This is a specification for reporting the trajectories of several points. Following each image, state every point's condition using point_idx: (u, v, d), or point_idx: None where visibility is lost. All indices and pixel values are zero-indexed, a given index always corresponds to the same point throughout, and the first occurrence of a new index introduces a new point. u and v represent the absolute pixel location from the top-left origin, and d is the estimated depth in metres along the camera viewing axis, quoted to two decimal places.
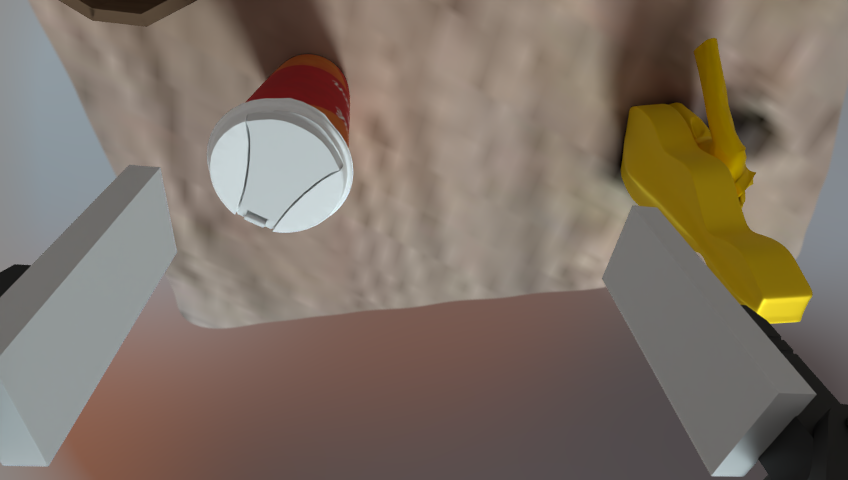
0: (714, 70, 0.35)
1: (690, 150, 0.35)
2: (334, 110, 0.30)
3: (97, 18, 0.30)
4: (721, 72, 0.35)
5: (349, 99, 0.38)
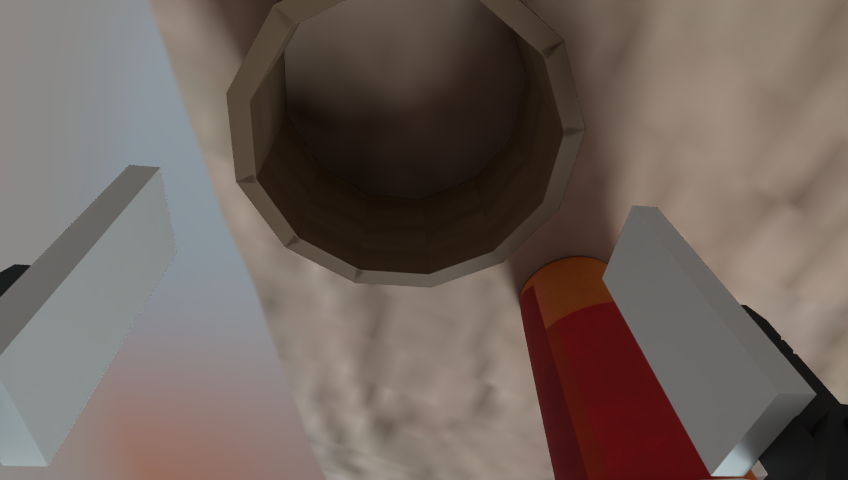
0: None
1: None
2: None
3: (362, 280, 0.20)
4: None
5: None
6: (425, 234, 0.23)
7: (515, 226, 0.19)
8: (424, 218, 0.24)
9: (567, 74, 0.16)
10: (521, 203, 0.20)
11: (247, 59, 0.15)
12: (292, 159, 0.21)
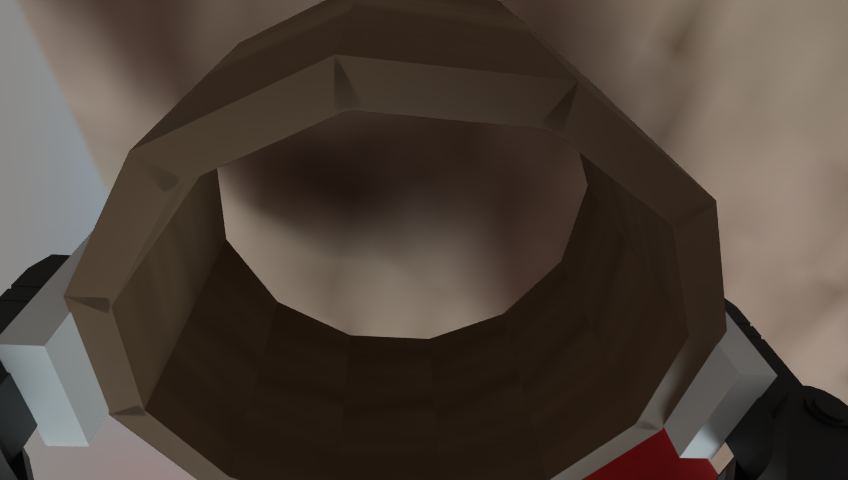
0: None
1: None
2: None
3: None
4: None
5: None
6: (435, 414, 0.15)
7: (585, 447, 0.12)
8: (432, 379, 0.16)
9: (711, 253, 0.08)
10: (591, 403, 0.12)
11: (93, 243, 0.08)
12: (230, 318, 0.14)
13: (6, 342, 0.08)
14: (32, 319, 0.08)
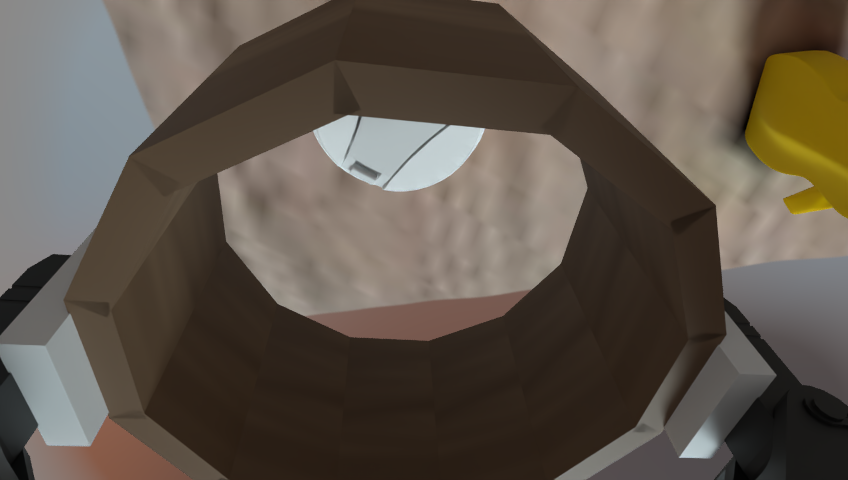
0: None
1: None
2: None
3: None
4: None
5: None
6: (435, 416, 0.15)
7: (584, 451, 0.12)
8: (432, 382, 0.16)
9: (711, 257, 0.08)
10: (591, 406, 0.12)
11: (93, 247, 0.08)
12: (230, 321, 0.14)
13: (7, 342, 0.08)
14: (33, 319, 0.08)
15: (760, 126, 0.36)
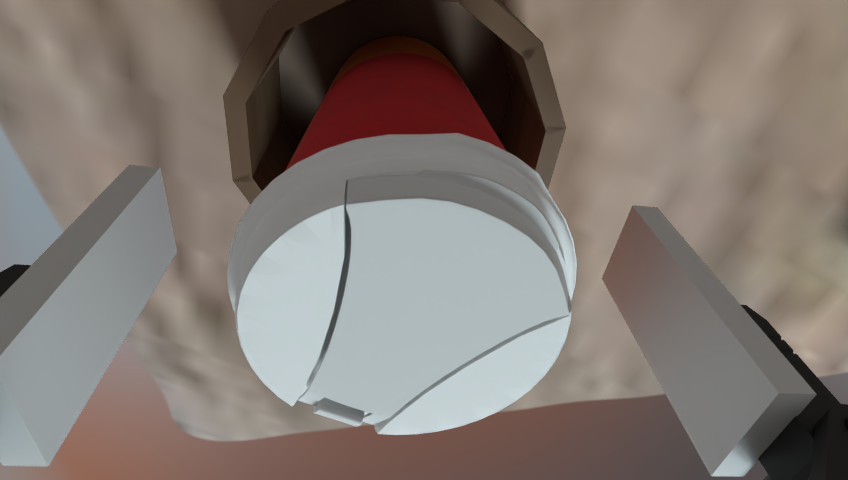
0: None
1: None
2: (505, 150, 0.14)
3: None
4: None
5: None
6: None
7: None
8: None
9: (547, 75, 0.17)
10: None
11: (243, 63, 0.16)
12: (287, 160, 0.22)
13: None
14: None
15: None
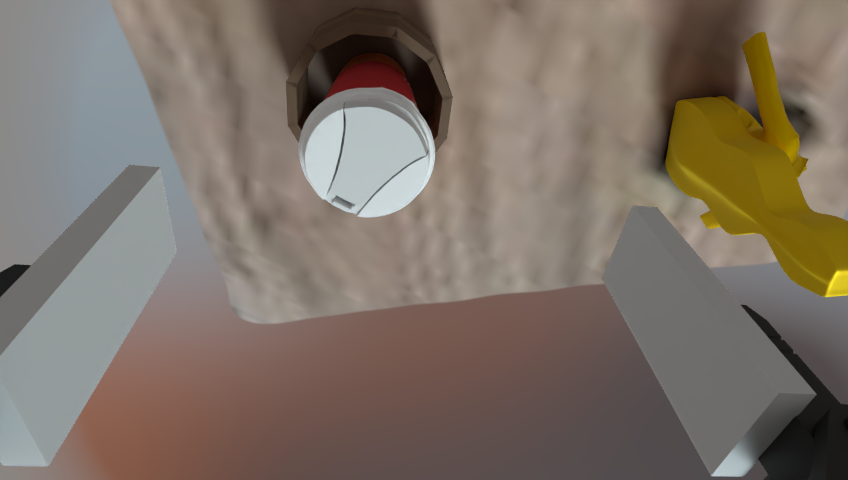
0: (765, 62, 0.37)
1: (744, 138, 0.36)
2: (412, 101, 0.32)
3: None
4: (772, 64, 0.36)
5: None
6: None
7: None
8: None
9: (439, 71, 0.35)
10: None
11: (296, 66, 0.34)
12: None
13: None
14: None
15: (673, 157, 0.44)
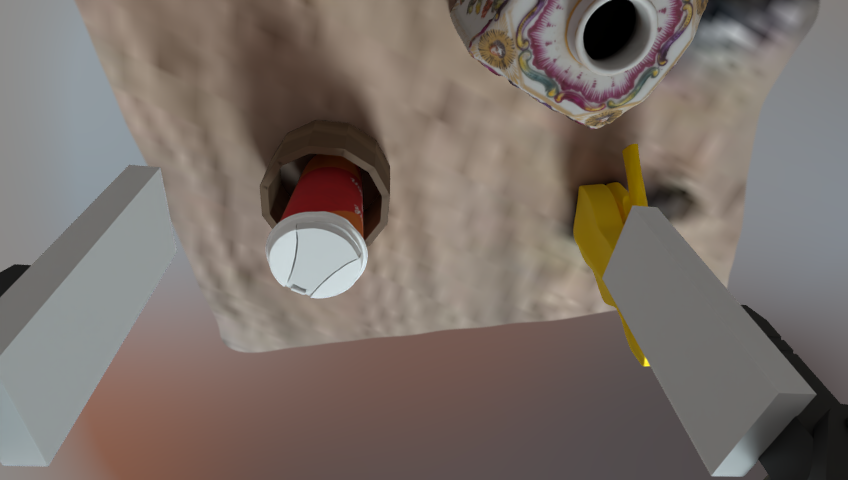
0: (634, 169, 0.47)
1: (617, 228, 0.47)
2: (353, 209, 0.42)
3: None
4: (639, 171, 0.47)
5: None
6: None
7: (372, 231, 0.49)
8: None
9: (378, 177, 0.45)
10: (375, 221, 0.49)
11: (267, 175, 0.44)
12: (283, 204, 0.51)
13: None
14: None
15: None
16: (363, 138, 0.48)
